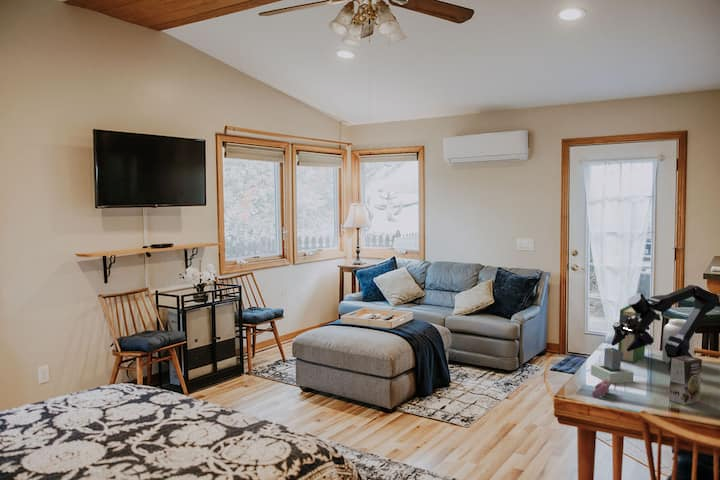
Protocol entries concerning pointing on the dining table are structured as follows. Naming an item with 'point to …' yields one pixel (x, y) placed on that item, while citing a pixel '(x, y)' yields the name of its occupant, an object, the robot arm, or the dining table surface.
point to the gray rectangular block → (612, 359)
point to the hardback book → (630, 340)
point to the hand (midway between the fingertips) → (619, 347)
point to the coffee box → (685, 380)
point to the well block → (612, 374)
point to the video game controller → (602, 388)
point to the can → (673, 330)
